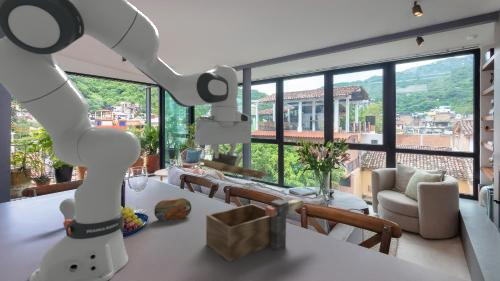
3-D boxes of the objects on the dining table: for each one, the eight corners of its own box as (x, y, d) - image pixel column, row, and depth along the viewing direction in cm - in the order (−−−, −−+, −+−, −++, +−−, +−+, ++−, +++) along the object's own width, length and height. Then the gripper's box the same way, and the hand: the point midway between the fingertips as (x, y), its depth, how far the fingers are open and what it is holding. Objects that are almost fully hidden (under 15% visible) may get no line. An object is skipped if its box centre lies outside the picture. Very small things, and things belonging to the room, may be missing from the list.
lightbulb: (81, 226, 98) (80, 198, 97) (62, 231, 94) (61, 202, 93) (77, 222, 102) (76, 195, 101) (58, 226, 98) (57, 198, 97)
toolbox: (238, 268, 70) (239, 215, 69) (206, 243, 85) (206, 199, 84) (287, 247, 83) (288, 202, 82) (252, 228, 97) (252, 190, 96)
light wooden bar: (271, 216, 79) (271, 209, 78) (265, 214, 81) (265, 206, 81) (303, 207, 88) (303, 200, 88) (296, 205, 91) (297, 198, 90)
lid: (226, 172, 72) (230, 154, 73) (198, 164, 87) (202, 149, 87) (275, 182, 84) (278, 166, 85) (243, 174, 99) (246, 160, 99)
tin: (154, 222, 103) (154, 202, 102) (154, 219, 106) (153, 200, 105) (191, 217, 109) (191, 198, 108) (190, 214, 112) (190, 196, 111)
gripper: (200, 115, 75) (200, 161, 76) (253, 117, 87) (253, 156, 88) (191, 115, 80) (191, 158, 81) (243, 117, 92) (242, 154, 93)
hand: (224, 157), depth 85 cm, fingers closed on lid, 3 cm apart
